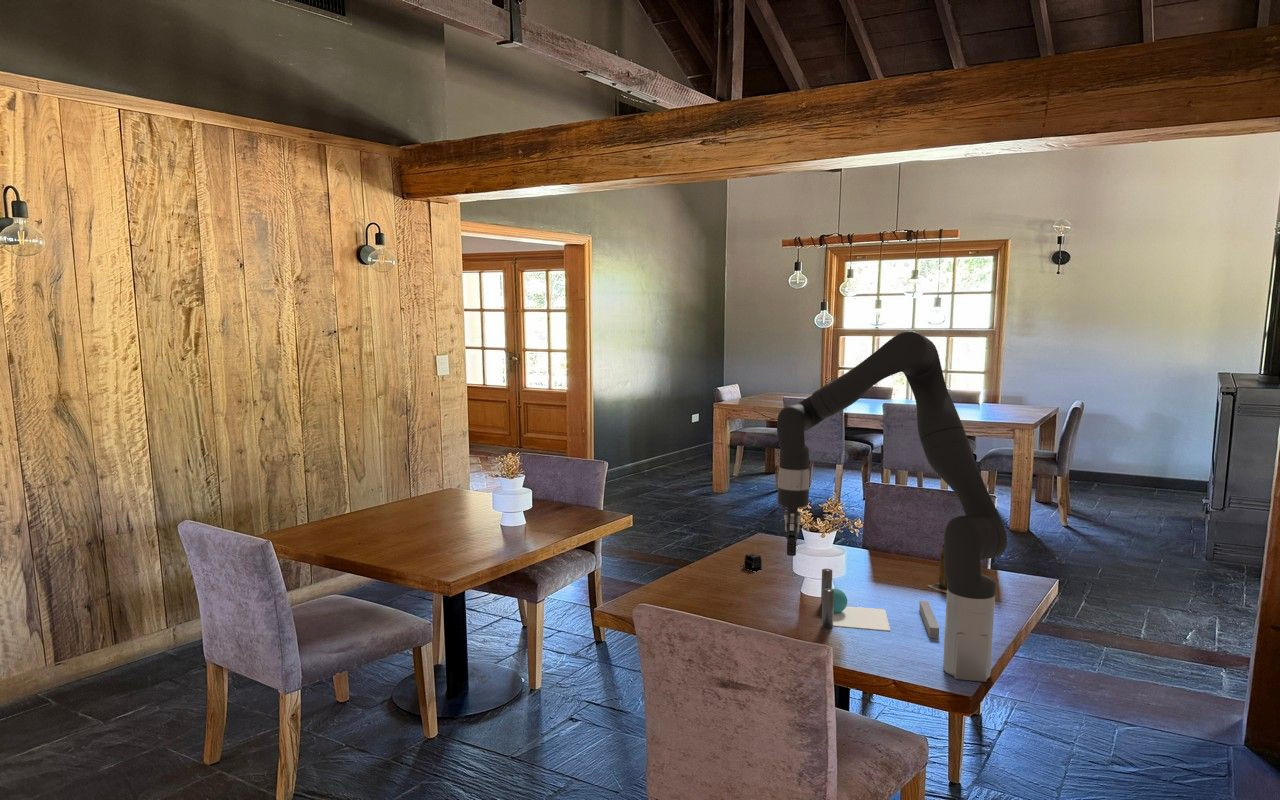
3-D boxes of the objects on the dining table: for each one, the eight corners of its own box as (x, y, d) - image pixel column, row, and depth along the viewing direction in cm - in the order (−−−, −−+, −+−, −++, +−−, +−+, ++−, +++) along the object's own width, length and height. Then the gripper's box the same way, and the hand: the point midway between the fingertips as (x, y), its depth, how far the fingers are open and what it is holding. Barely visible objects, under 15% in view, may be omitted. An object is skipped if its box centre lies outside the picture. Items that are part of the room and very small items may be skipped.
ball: (850, 591, 197) (829, 598, 196) (853, 612, 199) (832, 620, 197) (837, 581, 203) (816, 589, 201) (839, 602, 204) (819, 610, 203)
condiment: (969, 589, 219) (971, 546, 218) (949, 594, 215) (952, 550, 213) (946, 581, 225) (948, 539, 224) (926, 586, 221) (928, 544, 219)
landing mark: (890, 631, 189) (890, 630, 189) (829, 625, 192) (829, 625, 192) (885, 610, 202) (885, 609, 202) (828, 605, 205) (828, 604, 205)
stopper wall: (938, 638, 185) (939, 628, 184) (929, 637, 185) (930, 627, 185) (927, 610, 202) (928, 601, 202) (919, 610, 202) (919, 600, 202)
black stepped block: (729, 566, 238) (730, 551, 238) (747, 562, 242) (748, 548, 242) (758, 578, 228) (758, 562, 228) (777, 573, 232) (777, 558, 232)
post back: (831, 606, 205) (832, 572, 204) (820, 605, 205) (822, 571, 204) (831, 602, 207) (832, 569, 206) (820, 602, 208) (821, 568, 207)
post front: (832, 629, 189) (834, 592, 188) (821, 628, 190) (823, 591, 189) (832, 625, 192) (834, 588, 191) (821, 624, 192) (822, 588, 191)
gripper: (809, 492, 189) (806, 564, 191) (809, 481, 202) (807, 548, 203) (776, 490, 190) (774, 561, 192) (778, 479, 203) (777, 546, 205)
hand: (791, 554), depth 198 cm, fingers closed
